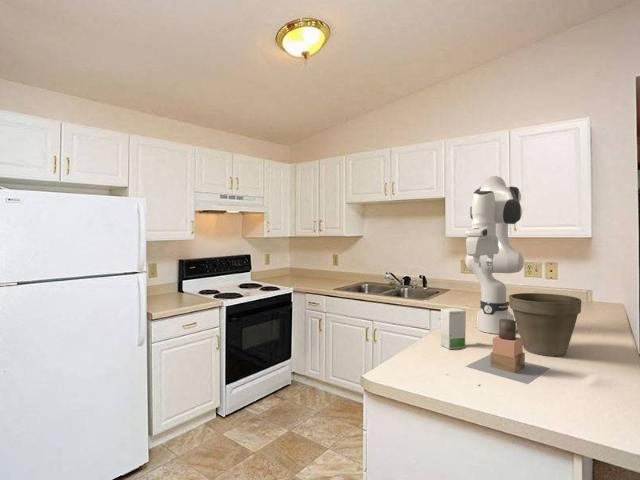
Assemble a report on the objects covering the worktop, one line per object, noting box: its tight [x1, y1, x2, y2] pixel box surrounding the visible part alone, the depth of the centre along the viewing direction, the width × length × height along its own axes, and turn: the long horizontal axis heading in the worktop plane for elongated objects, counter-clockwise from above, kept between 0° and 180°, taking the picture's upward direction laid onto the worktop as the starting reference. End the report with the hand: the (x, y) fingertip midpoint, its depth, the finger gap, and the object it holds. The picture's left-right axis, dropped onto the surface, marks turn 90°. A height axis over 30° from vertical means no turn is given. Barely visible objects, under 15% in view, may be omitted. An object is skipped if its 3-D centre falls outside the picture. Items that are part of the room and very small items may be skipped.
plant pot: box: [508, 292, 582, 357], centre depth 149 cm, size 25×25×22 cm
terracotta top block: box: [492, 335, 524, 357], centre depth 127 cm, size 7×7×5 cm
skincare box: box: [439, 307, 467, 350], centre depth 155 cm, size 8×7×16 cm
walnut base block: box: [490, 351, 526, 373], centre depth 127 cm, size 8×8×5 cm
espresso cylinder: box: [498, 319, 517, 340], centre depth 127 cm, size 5×5×6 cm
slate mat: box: [464, 353, 551, 385], centre depth 127 cm, size 20×20×2 cm
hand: (483, 266), depth 147 cm, fingers open, 8 cm apart
